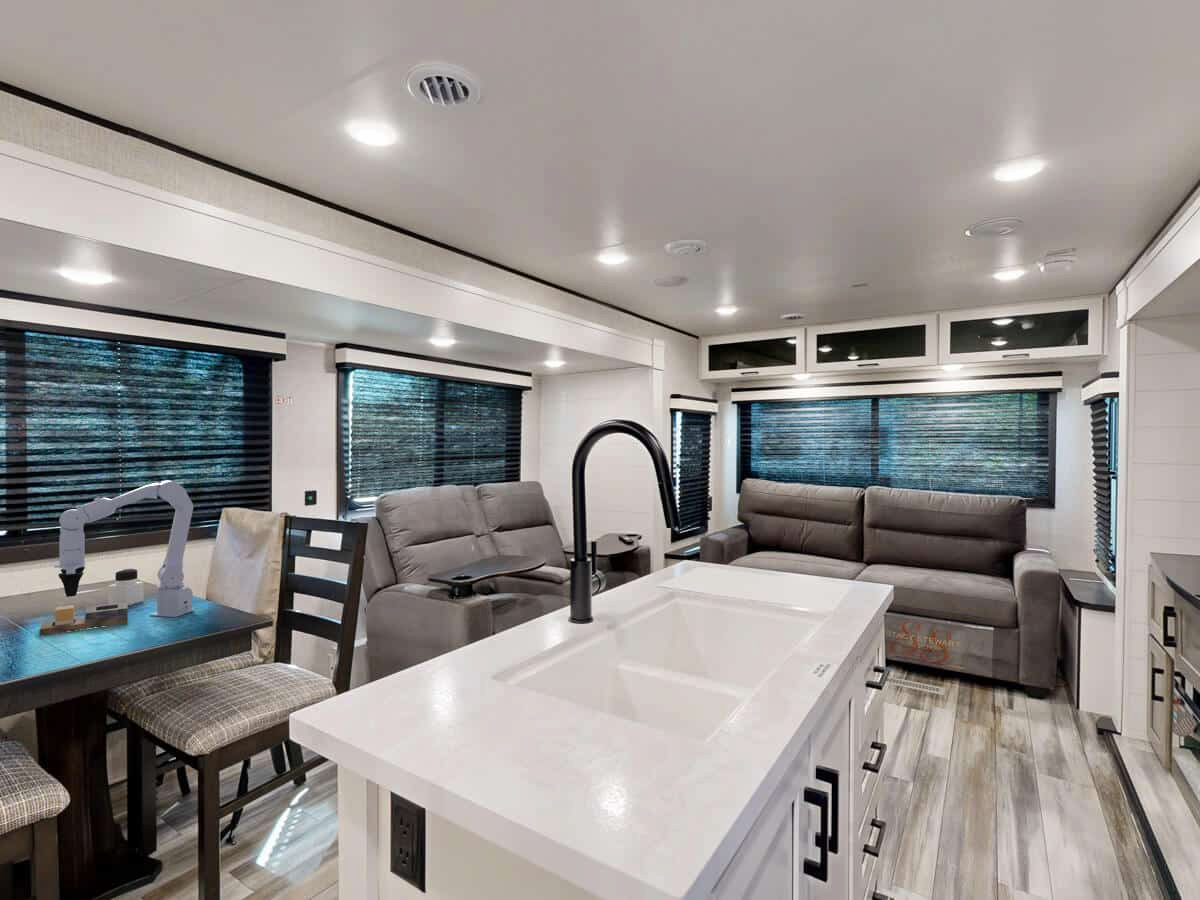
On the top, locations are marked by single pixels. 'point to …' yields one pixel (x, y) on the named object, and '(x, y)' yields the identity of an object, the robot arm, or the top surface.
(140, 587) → the medicine bottle
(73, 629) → the wooden base
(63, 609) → the plug
